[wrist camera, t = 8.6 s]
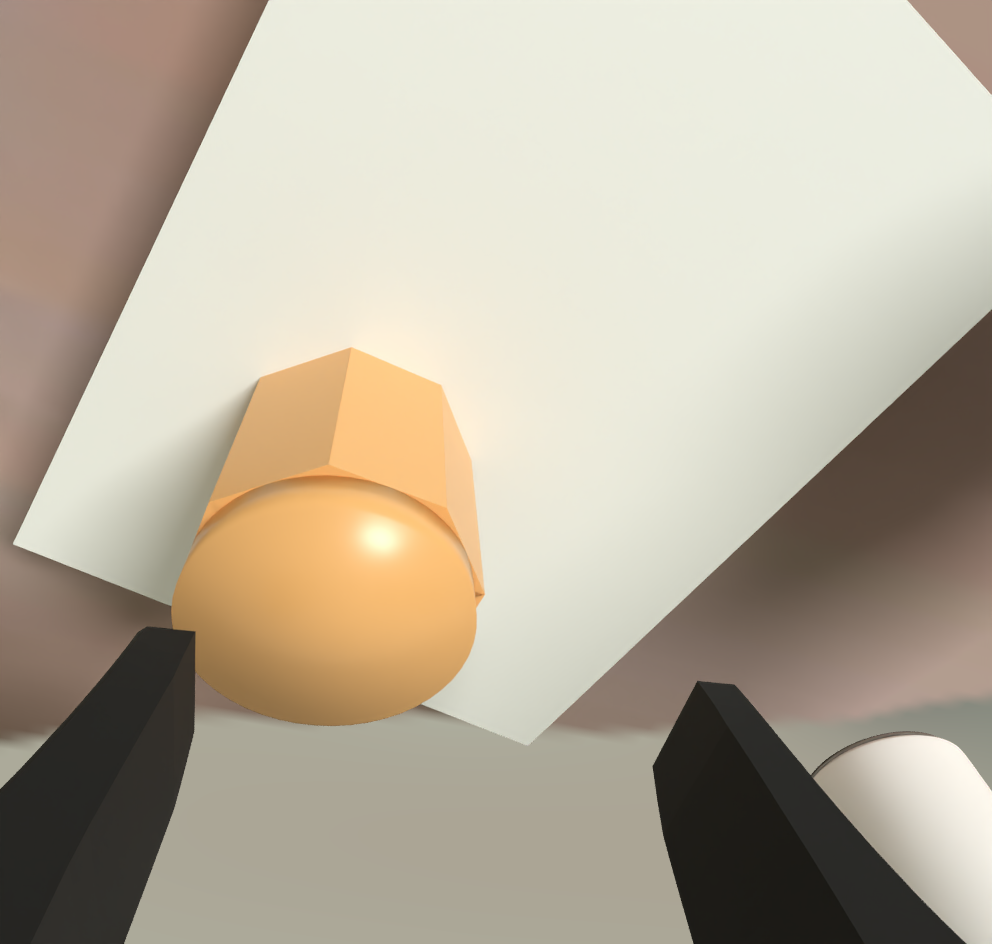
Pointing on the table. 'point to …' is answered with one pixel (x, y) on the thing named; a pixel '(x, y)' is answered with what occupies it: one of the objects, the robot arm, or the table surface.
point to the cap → (337, 548)
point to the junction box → (551, 288)
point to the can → (922, 820)
